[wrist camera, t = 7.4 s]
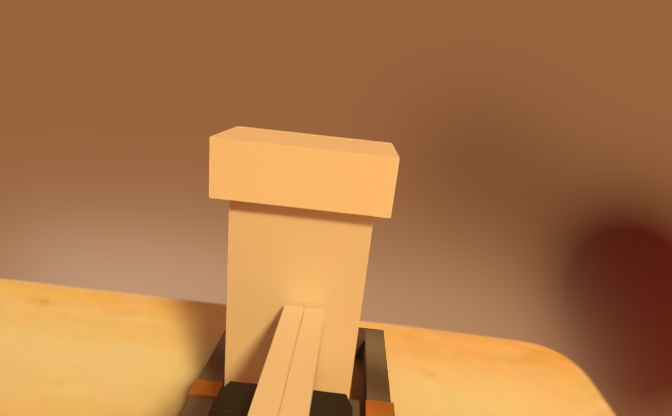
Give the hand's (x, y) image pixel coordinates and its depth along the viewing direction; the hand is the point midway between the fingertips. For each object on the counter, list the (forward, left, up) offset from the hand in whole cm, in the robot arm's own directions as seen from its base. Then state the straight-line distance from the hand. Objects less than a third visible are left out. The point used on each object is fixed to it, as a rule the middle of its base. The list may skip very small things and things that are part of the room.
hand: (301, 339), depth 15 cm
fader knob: (-1, +1, -7) cm, 7 cm away
